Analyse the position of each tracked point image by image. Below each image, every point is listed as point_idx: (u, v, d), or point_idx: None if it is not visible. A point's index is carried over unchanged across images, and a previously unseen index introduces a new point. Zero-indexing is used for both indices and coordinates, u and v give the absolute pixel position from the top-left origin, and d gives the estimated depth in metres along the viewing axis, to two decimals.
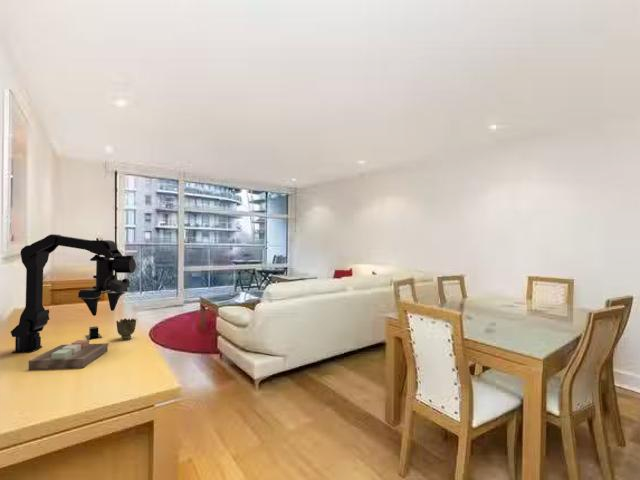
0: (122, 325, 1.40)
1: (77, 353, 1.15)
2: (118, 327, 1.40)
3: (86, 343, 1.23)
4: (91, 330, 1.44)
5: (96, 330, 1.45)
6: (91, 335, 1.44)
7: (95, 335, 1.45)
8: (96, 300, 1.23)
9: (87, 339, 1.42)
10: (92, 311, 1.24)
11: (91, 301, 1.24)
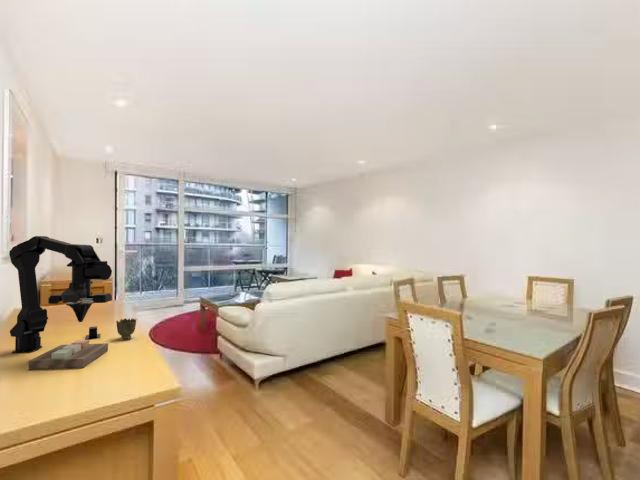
0: (122, 325, 1.40)
1: (77, 353, 1.15)
2: (118, 327, 1.40)
3: (86, 343, 1.23)
4: (90, 330, 1.44)
5: (95, 330, 1.45)
6: (90, 335, 1.43)
7: (94, 335, 1.44)
8: (71, 306, 1.20)
9: (85, 339, 1.41)
10: None
11: None
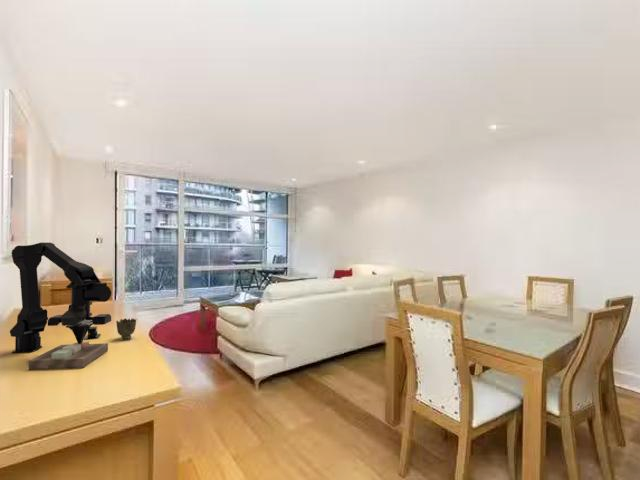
0: (122, 325, 1.40)
1: (77, 353, 1.15)
2: (118, 327, 1.40)
3: (86, 345, 1.23)
4: (89, 330, 1.44)
5: (94, 330, 1.44)
6: (88, 335, 1.43)
7: (92, 335, 1.44)
8: (70, 328, 1.20)
9: None
10: None
11: None
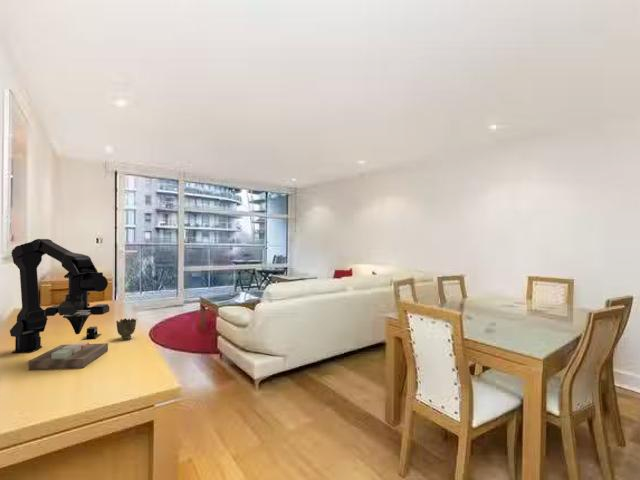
0: (122, 325, 1.40)
1: (77, 353, 1.15)
2: (118, 327, 1.40)
3: (86, 345, 1.23)
4: (87, 330, 1.44)
5: (92, 330, 1.44)
6: (87, 335, 1.43)
7: (91, 335, 1.44)
8: (68, 318, 1.18)
9: (82, 339, 1.42)
10: None
11: None
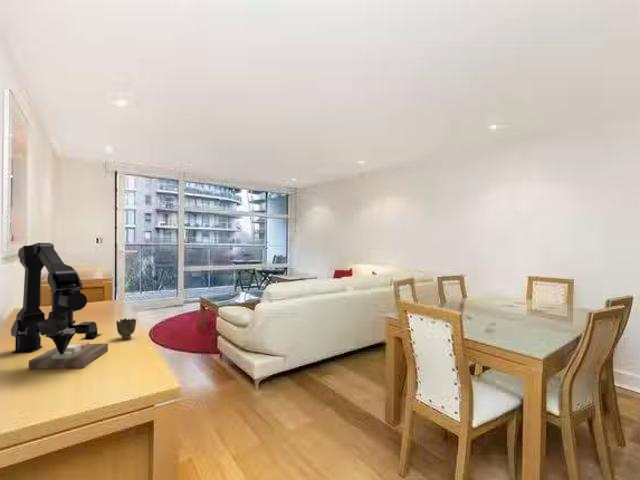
0: (122, 325, 1.40)
1: (77, 353, 1.15)
2: (118, 327, 1.40)
3: (86, 345, 1.23)
4: None
5: None
6: (86, 335, 1.43)
7: (90, 335, 1.44)
8: (51, 337, 1.09)
9: (80, 339, 1.42)
10: None
11: None
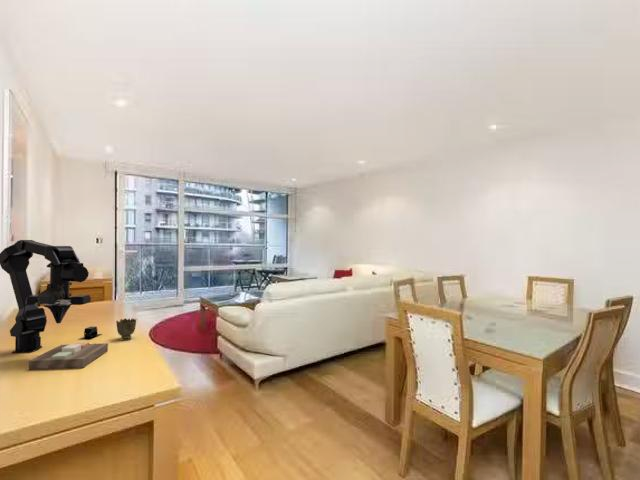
0: (122, 325, 1.40)
1: (77, 353, 1.15)
2: (118, 327, 1.40)
3: (86, 345, 1.23)
4: (85, 330, 1.44)
5: (89, 331, 1.44)
6: (85, 335, 1.44)
7: (88, 335, 1.44)
8: (48, 307, 1.20)
9: None
10: None
11: None
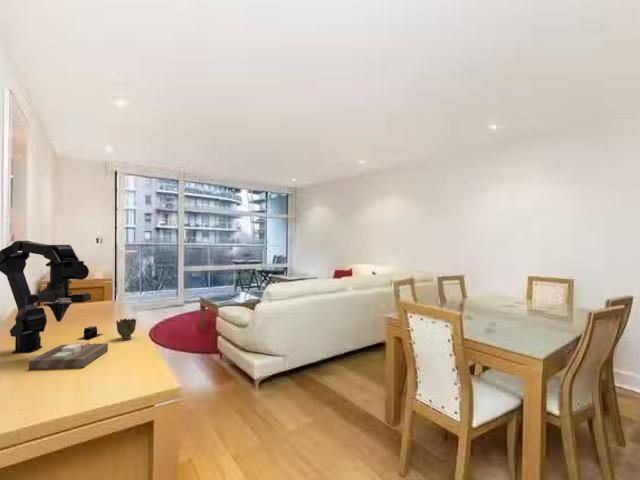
0: (122, 325, 1.40)
1: (77, 353, 1.15)
2: (118, 327, 1.40)
3: (86, 345, 1.23)
4: (85, 330, 1.44)
5: (88, 331, 1.44)
6: (84, 335, 1.44)
7: (87, 335, 1.44)
8: (49, 306, 1.21)
9: None
10: None
11: None
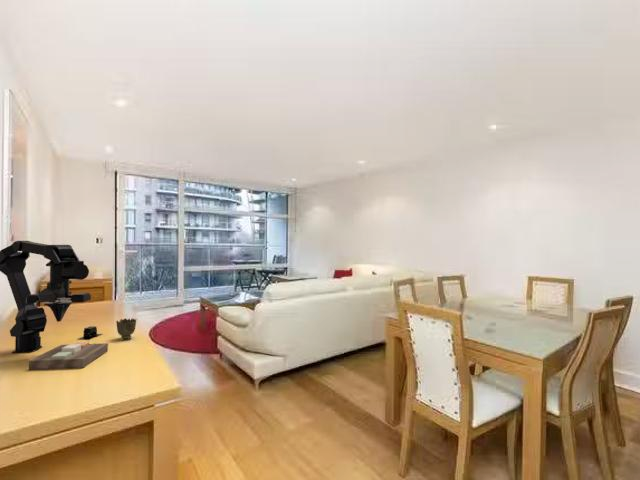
0: (122, 325, 1.40)
1: (77, 353, 1.15)
2: (118, 327, 1.40)
3: (86, 345, 1.23)
4: (84, 330, 1.44)
5: (88, 331, 1.44)
6: (84, 335, 1.44)
7: (87, 335, 1.44)
8: (49, 306, 1.21)
9: None
10: None
11: None
